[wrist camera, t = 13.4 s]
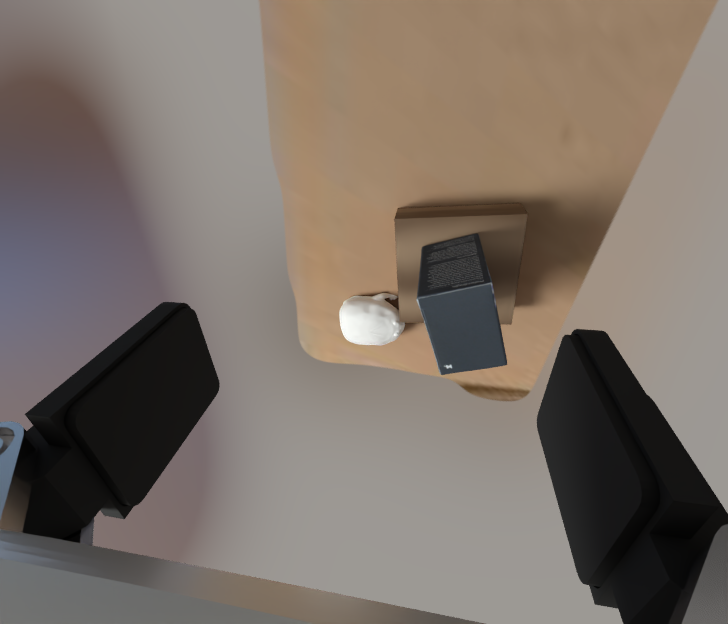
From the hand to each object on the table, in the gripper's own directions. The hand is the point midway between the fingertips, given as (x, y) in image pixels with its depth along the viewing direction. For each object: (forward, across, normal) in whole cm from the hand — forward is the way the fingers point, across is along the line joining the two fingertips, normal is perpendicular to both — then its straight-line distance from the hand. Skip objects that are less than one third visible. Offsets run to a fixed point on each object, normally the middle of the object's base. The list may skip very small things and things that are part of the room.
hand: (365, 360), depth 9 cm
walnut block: (+31, -4, +11) cm, 33 cm away
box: (+27, -4, +11) cm, 29 cm away
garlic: (+31, +5, +19) cm, 36 cm away
